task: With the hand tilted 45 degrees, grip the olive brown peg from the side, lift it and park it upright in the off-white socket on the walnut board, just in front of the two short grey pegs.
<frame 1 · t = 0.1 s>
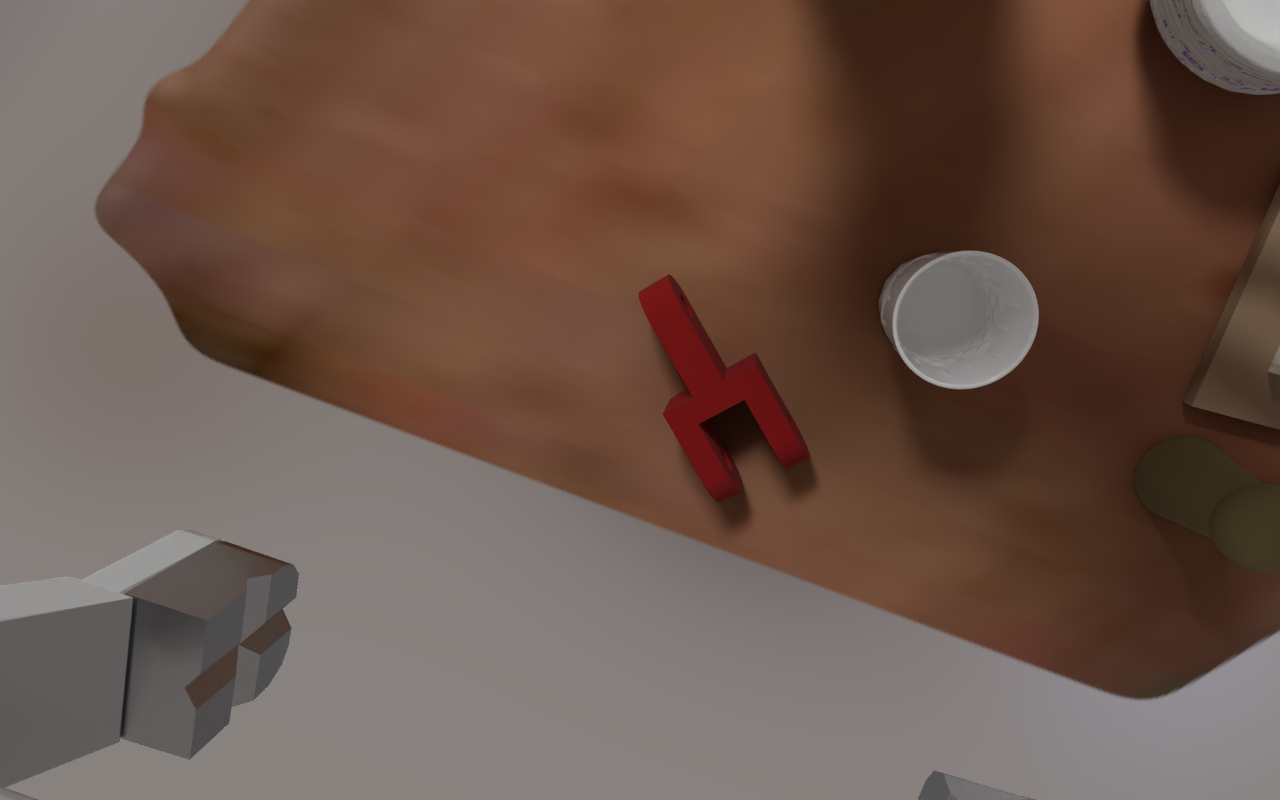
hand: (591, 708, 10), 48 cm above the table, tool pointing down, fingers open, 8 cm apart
olive brown peg: (1180, 477, 54), on the table
mechanical linkage: (712, 375, 58), on the table
white cup: (927, 303, 54), on the table
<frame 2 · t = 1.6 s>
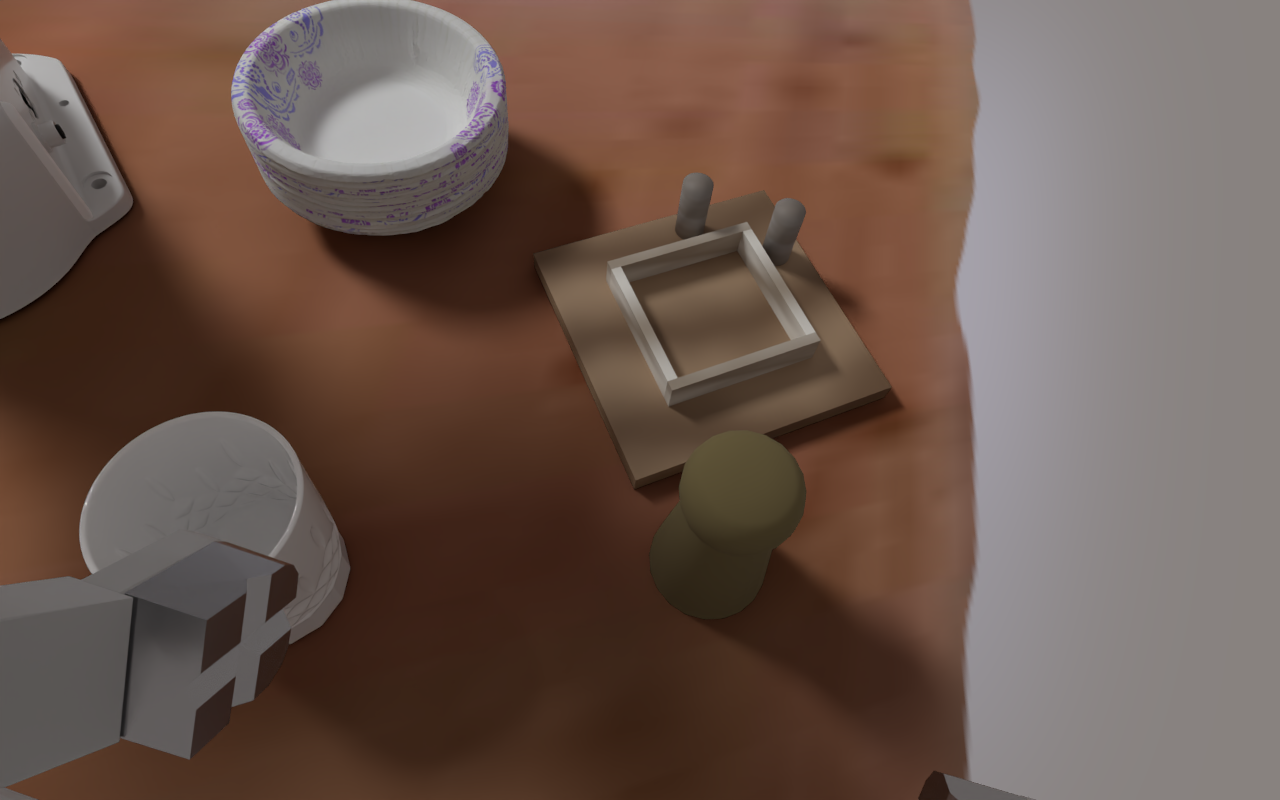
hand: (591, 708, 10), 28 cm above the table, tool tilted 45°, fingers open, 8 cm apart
paper bowls: (396, 179, 51), on the table
olive brown peg: (706, 561, 40), on the table
peg board: (704, 329, 47), on the table
white cup: (280, 579, 38), on the table
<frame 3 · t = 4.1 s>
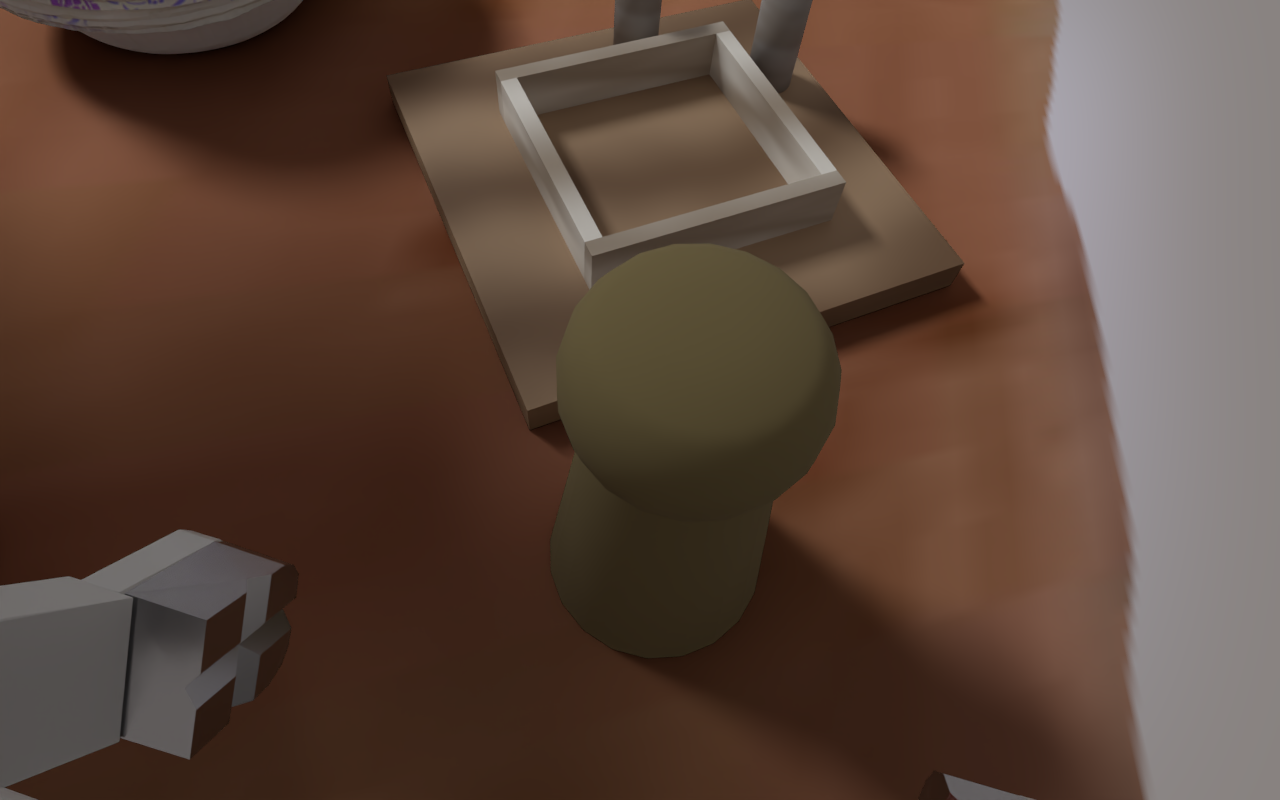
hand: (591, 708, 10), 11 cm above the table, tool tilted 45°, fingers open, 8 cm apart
olive brown peg: (654, 552, 23), on the table
peg board: (657, 188, 30), on the table
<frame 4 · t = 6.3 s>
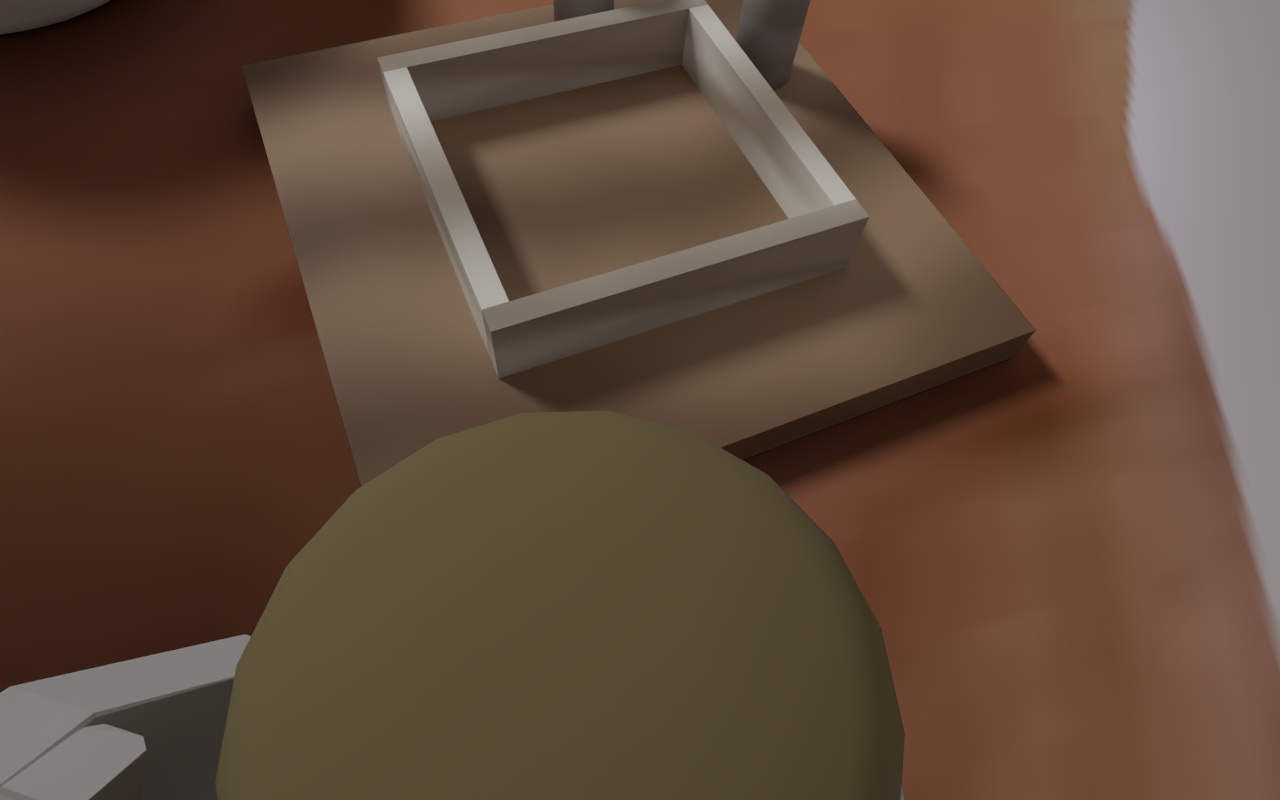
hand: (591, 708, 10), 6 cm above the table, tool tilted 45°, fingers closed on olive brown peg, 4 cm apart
olive brown peg: (577, 797, 15), on the table, touching gripper
peg board: (608, 220, 22), on the table
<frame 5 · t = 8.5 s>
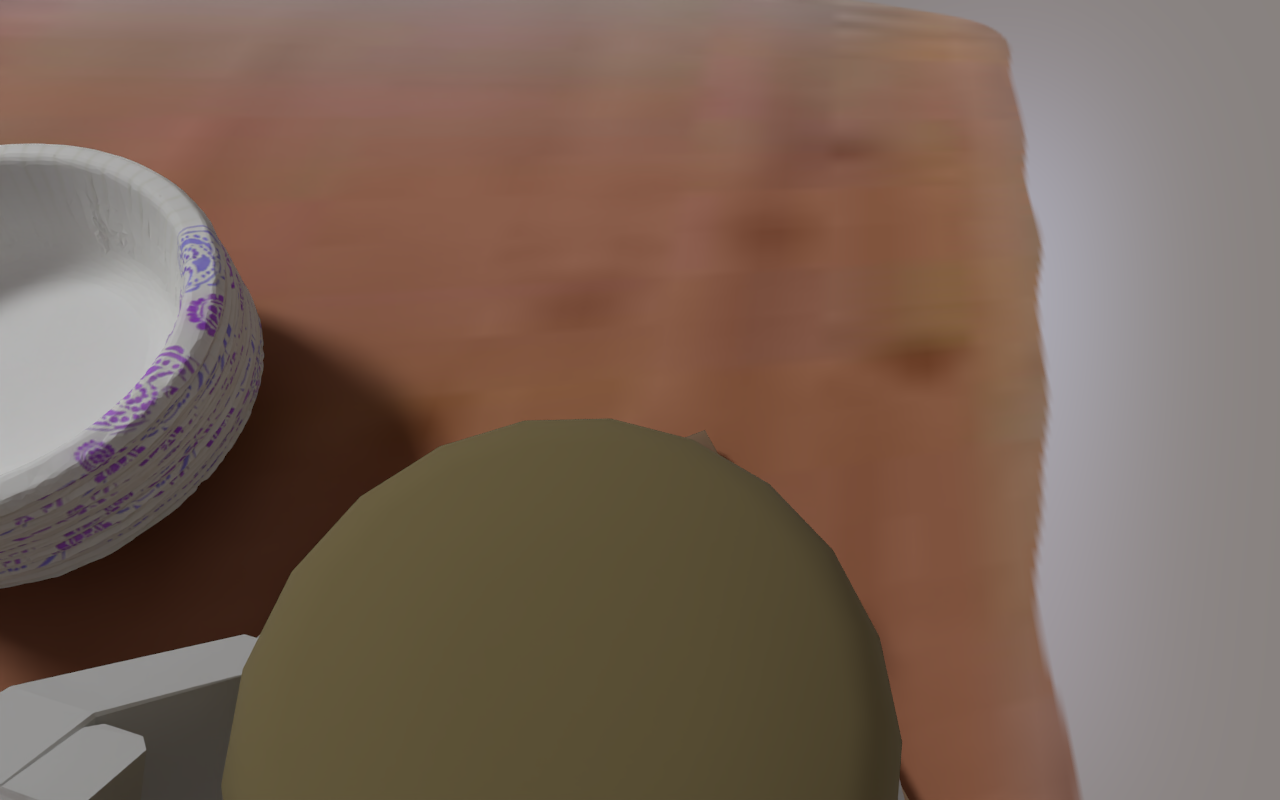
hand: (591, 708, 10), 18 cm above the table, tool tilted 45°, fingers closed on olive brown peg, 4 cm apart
paper bowls: (96, 429, 31), on the table
olive brown peg: (576, 799, 15), point 12 cm above the table, touching gripper
when the fingers open (8 cm above the table, at t = 11.6 s): olive brown peg stays where it is, resting on peg board.
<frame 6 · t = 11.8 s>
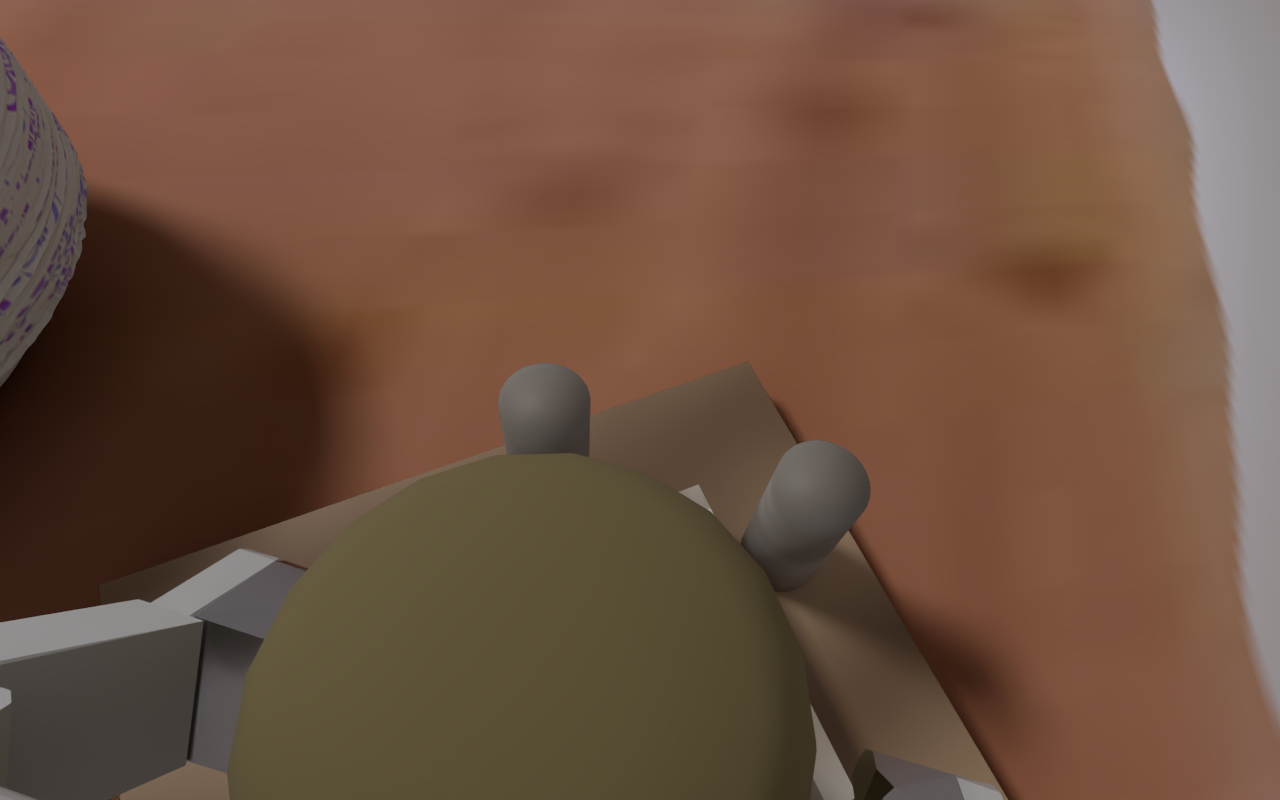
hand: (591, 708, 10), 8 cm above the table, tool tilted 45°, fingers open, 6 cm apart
olive brown peg: (570, 798, 15), point 1 cm above the table, touching peg board
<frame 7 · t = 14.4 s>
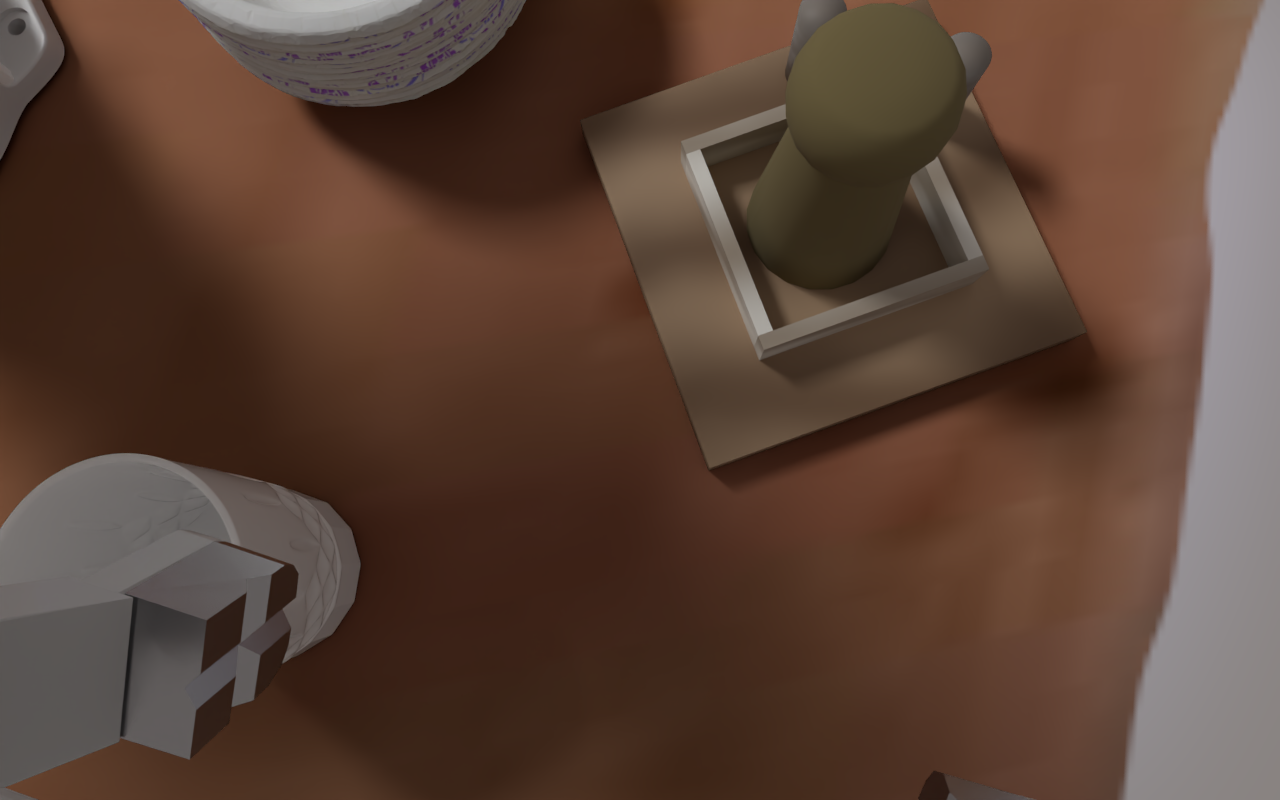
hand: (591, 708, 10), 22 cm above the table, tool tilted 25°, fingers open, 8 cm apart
olive brown peg: (818, 222, 33), point 1 cm above the table, touching peg board
peg board: (818, 232, 34), on the table
white cup: (284, 572, 32), on the table
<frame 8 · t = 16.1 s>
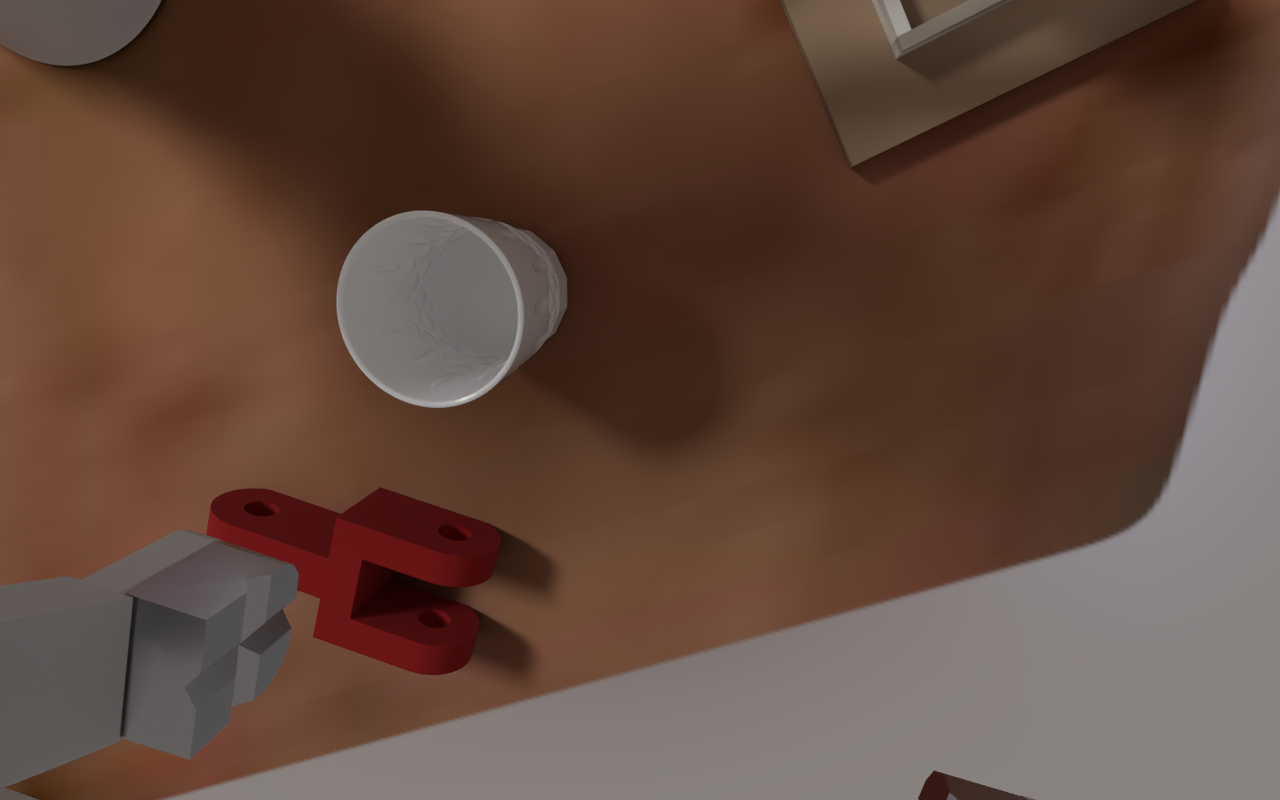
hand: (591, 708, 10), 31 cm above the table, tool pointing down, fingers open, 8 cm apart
mechanical linkage: (372, 539, 46), on the table
white cup: (507, 290, 41), on the table
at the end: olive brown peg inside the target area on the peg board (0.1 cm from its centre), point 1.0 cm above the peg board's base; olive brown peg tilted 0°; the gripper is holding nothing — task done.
